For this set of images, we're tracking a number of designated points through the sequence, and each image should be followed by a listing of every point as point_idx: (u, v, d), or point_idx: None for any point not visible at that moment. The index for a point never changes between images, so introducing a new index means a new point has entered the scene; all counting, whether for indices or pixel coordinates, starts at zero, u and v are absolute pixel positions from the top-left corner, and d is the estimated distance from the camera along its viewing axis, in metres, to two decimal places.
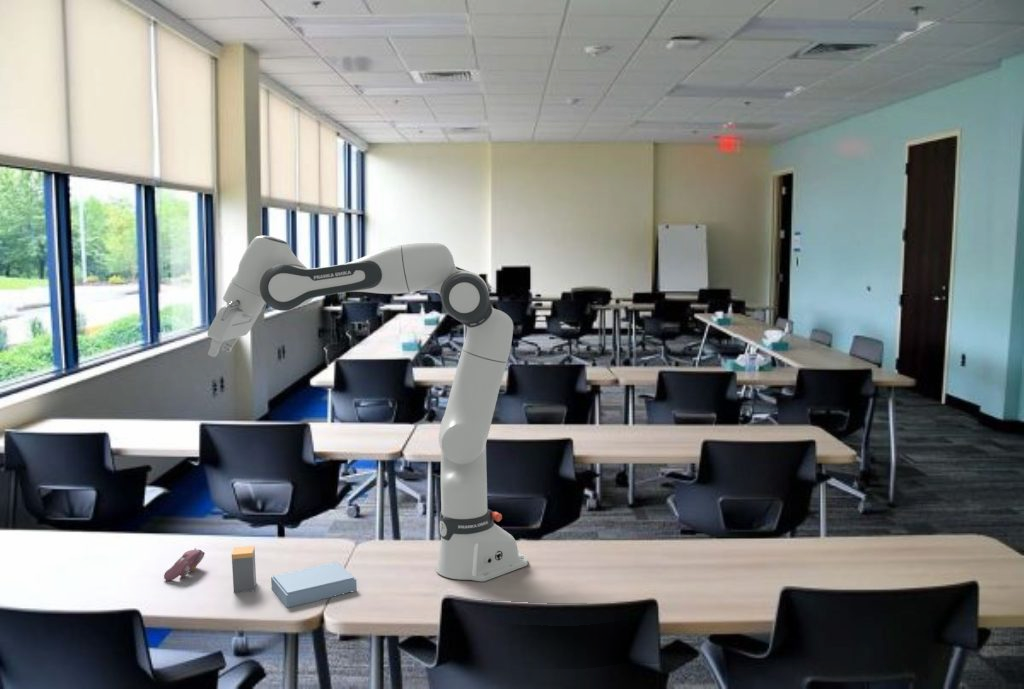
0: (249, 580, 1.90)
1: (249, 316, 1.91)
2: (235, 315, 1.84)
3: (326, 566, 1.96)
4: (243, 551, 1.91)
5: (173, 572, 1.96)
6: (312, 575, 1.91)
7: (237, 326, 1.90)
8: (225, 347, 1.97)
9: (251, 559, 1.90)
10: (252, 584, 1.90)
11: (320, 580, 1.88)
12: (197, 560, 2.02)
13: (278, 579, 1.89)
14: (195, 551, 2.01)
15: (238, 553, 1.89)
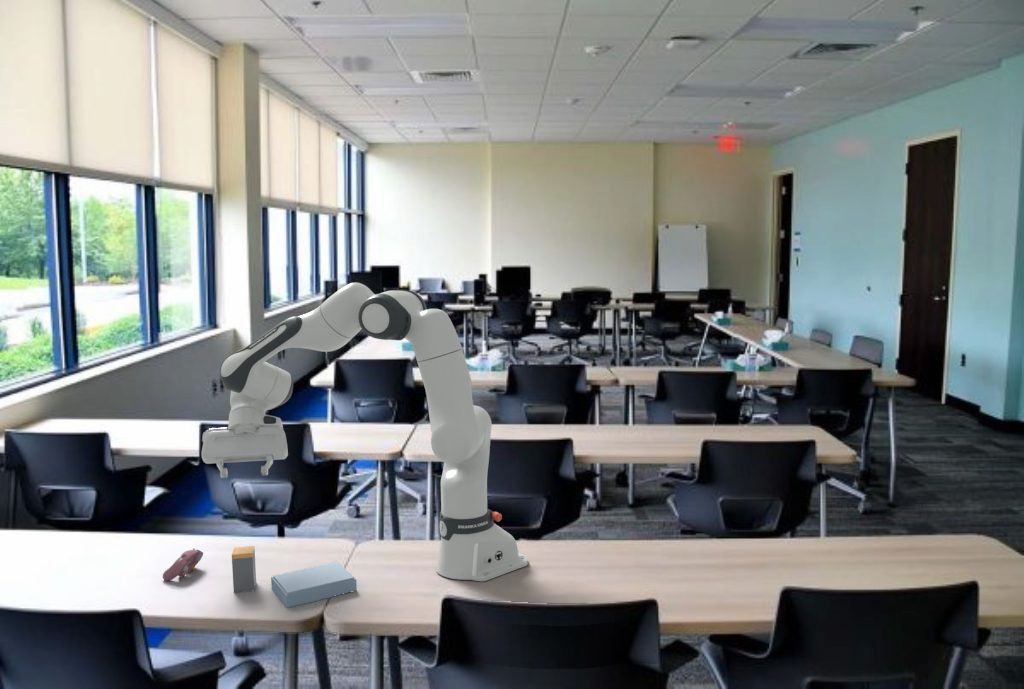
0: (249, 580, 1.90)
1: (240, 429, 2.05)
2: (211, 433, 2.05)
3: (326, 566, 1.96)
4: (243, 551, 1.91)
5: (171, 572, 1.96)
6: (312, 575, 1.91)
7: (234, 443, 2.04)
8: None
9: (251, 559, 1.90)
10: (252, 584, 1.90)
11: (320, 580, 1.88)
12: (196, 560, 2.02)
13: (278, 579, 1.89)
14: (194, 551, 2.01)
15: (238, 553, 1.89)
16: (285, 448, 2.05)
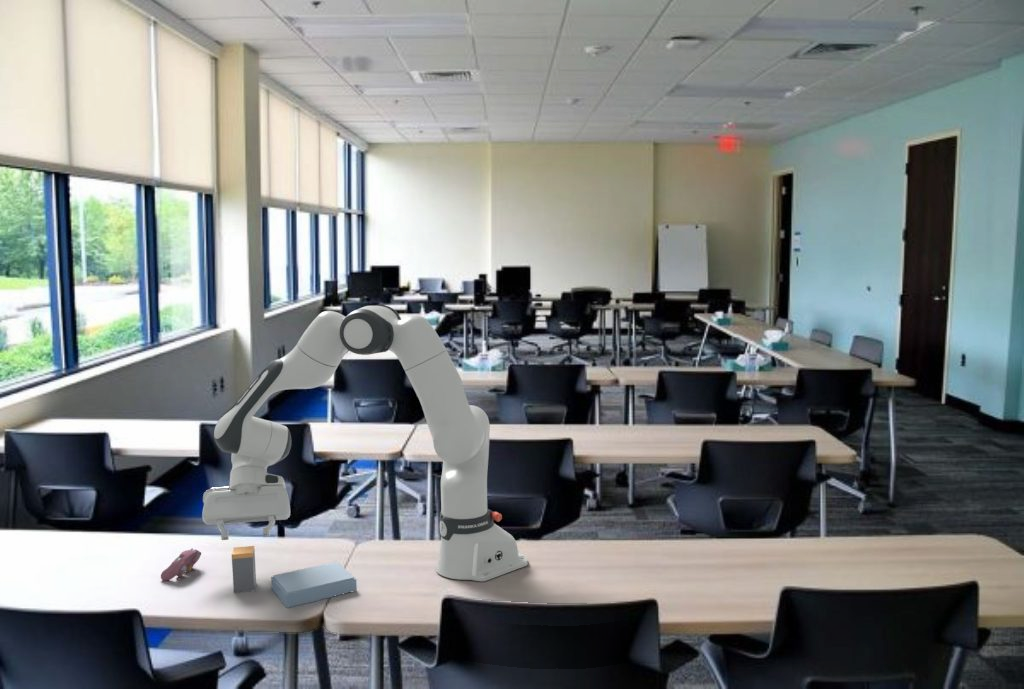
0: (249, 580, 1.90)
1: (241, 489, 2.01)
2: (212, 493, 2.01)
3: (326, 566, 1.96)
4: (243, 551, 1.91)
5: (169, 572, 1.96)
6: (312, 575, 1.91)
7: (236, 503, 2.00)
8: None
9: (251, 559, 1.90)
10: (252, 584, 1.90)
11: (320, 580, 1.88)
12: (194, 560, 2.02)
13: (278, 579, 1.89)
14: (192, 551, 2.01)
15: (238, 553, 1.89)
16: (287, 508, 2.01)
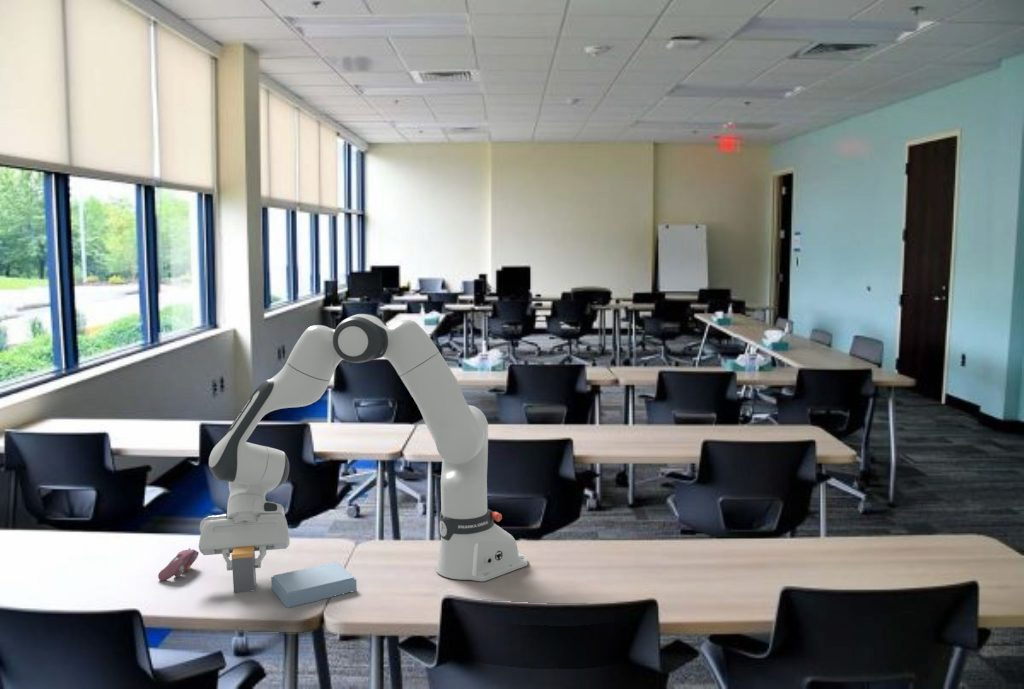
0: (249, 579, 1.90)
1: (239, 518, 1.95)
2: (209, 522, 1.95)
3: (326, 566, 1.96)
4: (243, 550, 1.91)
5: (167, 572, 1.96)
6: (312, 575, 1.91)
7: (233, 533, 1.94)
8: None
9: (251, 559, 1.90)
10: (252, 584, 1.90)
11: (320, 580, 1.88)
12: (191, 560, 2.02)
13: (278, 579, 1.89)
14: (189, 551, 2.01)
15: (238, 553, 1.89)
16: (287, 538, 1.95)
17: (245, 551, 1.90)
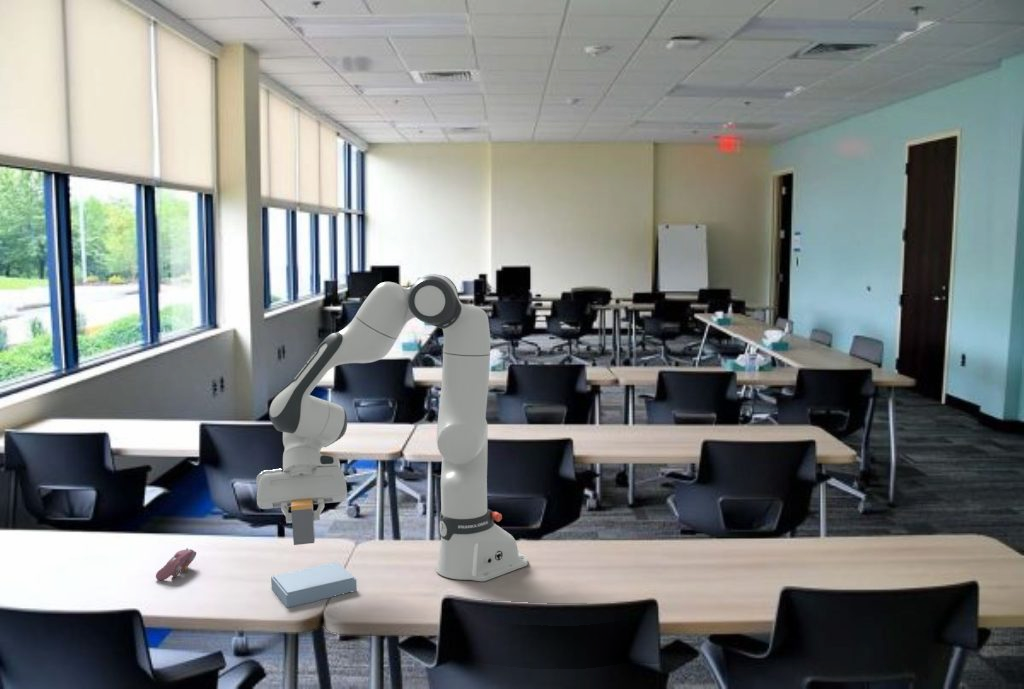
0: (308, 532, 1.87)
1: (296, 471, 1.92)
2: (265, 476, 1.92)
3: (326, 566, 1.96)
4: (302, 502, 1.88)
5: (165, 572, 1.96)
6: (312, 575, 1.91)
7: (291, 486, 1.91)
8: None
9: (310, 511, 1.87)
10: (312, 536, 1.87)
11: (320, 580, 1.88)
12: (189, 560, 2.02)
13: (278, 579, 1.89)
14: (187, 551, 2.01)
15: (297, 505, 1.86)
16: (345, 490, 1.92)
17: (304, 503, 1.87)
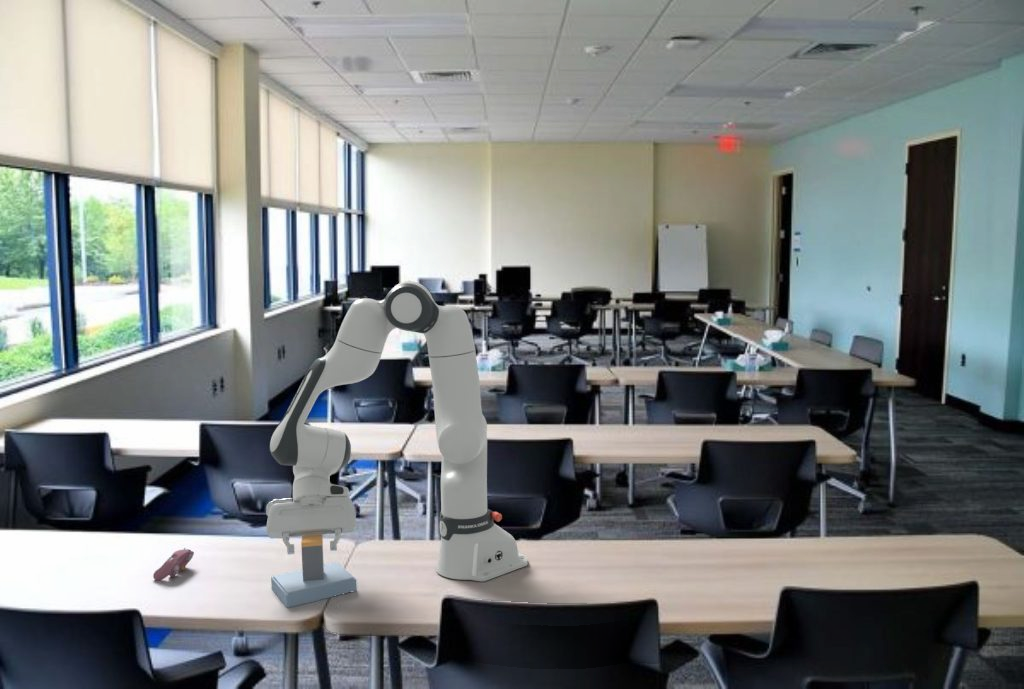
0: (318, 568, 1.88)
1: (306, 501, 1.93)
2: (275, 505, 1.93)
3: (326, 566, 1.96)
4: (312, 539, 1.88)
5: (162, 572, 1.96)
6: None
7: (301, 516, 1.92)
8: None
9: (321, 547, 1.87)
10: (321, 573, 1.88)
11: (320, 580, 1.88)
12: (186, 560, 2.02)
13: (278, 579, 1.89)
14: (184, 551, 2.01)
15: (307, 541, 1.87)
16: (354, 521, 1.93)
17: (314, 539, 1.88)
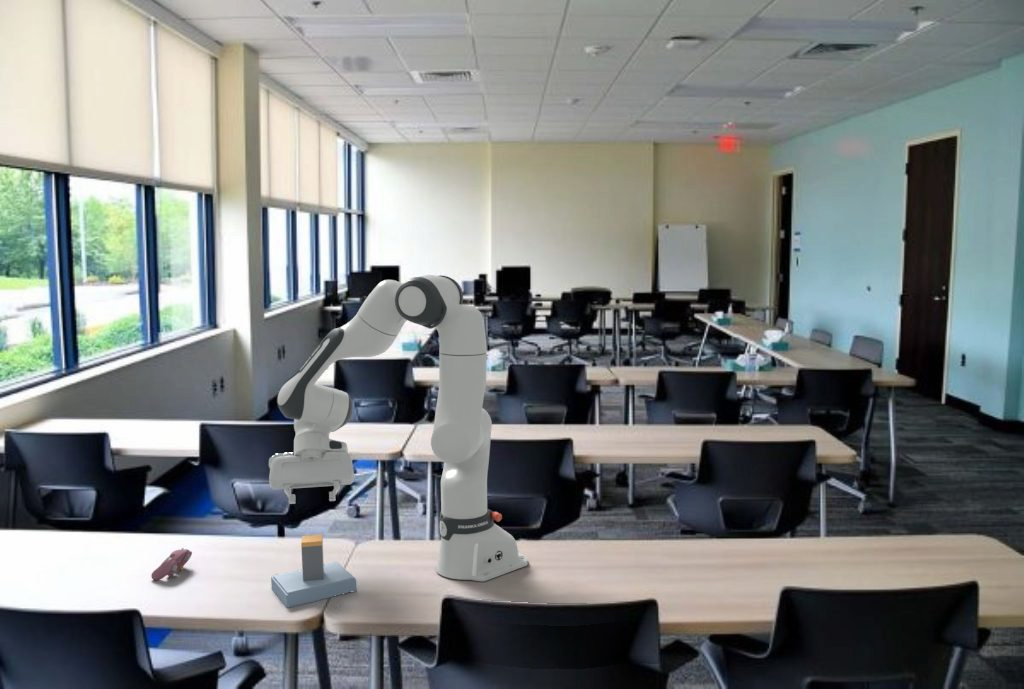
0: (318, 568, 1.88)
1: (306, 455, 2.04)
2: (277, 458, 2.04)
3: (326, 566, 1.96)
4: (312, 539, 1.88)
5: (160, 572, 1.96)
6: None
7: (301, 468, 2.03)
8: None
9: (321, 547, 1.87)
10: (321, 573, 1.88)
11: (320, 580, 1.88)
12: (184, 560, 2.02)
13: (278, 579, 1.89)
14: (182, 551, 2.01)
15: (307, 541, 1.87)
16: (352, 473, 2.04)
17: (314, 539, 1.88)
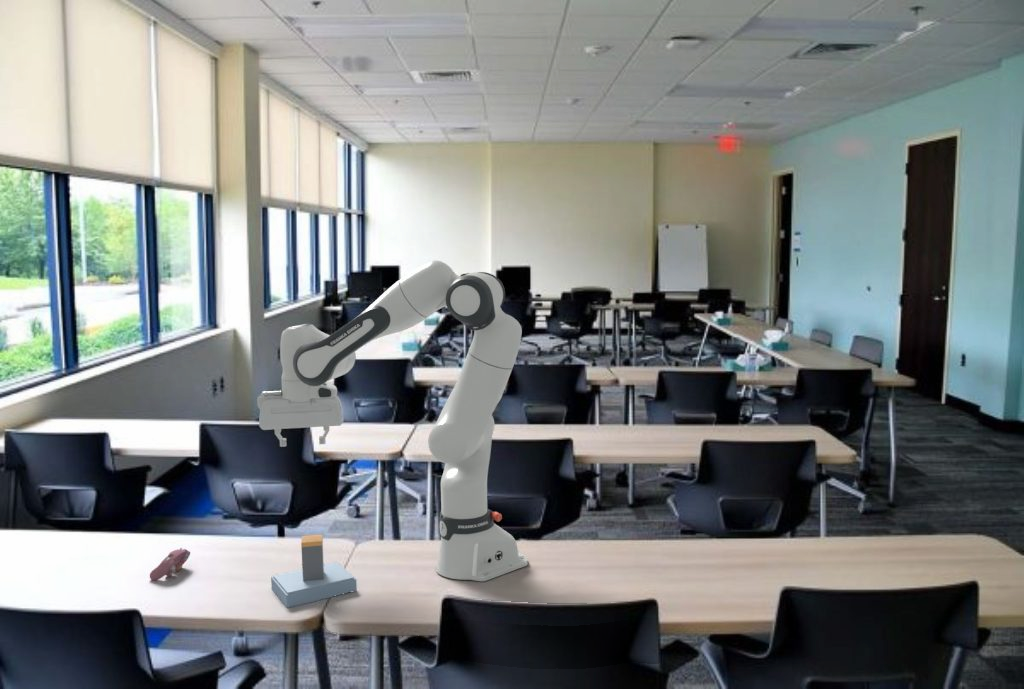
0: (318, 568, 1.88)
1: (295, 403, 2.02)
2: (266, 403, 2.02)
3: (326, 566, 1.96)
4: (312, 539, 1.88)
5: (159, 572, 1.96)
6: None
7: (291, 414, 2.03)
8: None
9: (321, 547, 1.87)
10: (321, 573, 1.88)
11: (320, 580, 1.88)
12: (183, 559, 2.02)
13: (278, 579, 1.89)
14: (181, 550, 2.01)
15: (307, 541, 1.87)
16: (341, 421, 2.06)
17: (314, 539, 1.88)
